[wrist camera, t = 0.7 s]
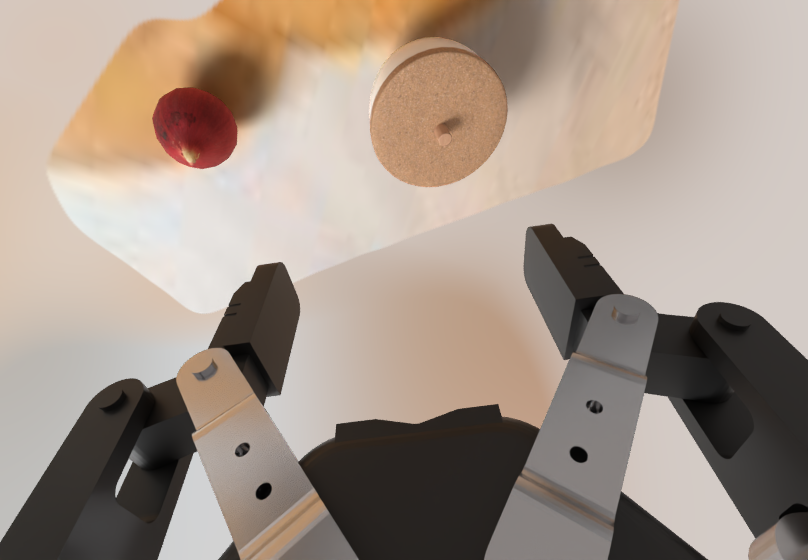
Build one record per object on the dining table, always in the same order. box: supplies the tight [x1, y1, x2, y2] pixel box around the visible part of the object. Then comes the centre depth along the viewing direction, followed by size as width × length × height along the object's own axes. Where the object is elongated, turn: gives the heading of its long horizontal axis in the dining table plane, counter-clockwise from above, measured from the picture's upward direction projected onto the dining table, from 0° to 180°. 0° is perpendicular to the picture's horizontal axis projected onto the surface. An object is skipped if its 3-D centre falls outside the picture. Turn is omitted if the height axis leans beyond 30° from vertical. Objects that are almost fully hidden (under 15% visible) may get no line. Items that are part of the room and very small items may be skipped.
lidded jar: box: [369, 37, 507, 187], centre depth 31 cm, size 11×11×9 cm
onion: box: [152, 88, 237, 169], centre depth 30 cm, size 6×6×8 cm
